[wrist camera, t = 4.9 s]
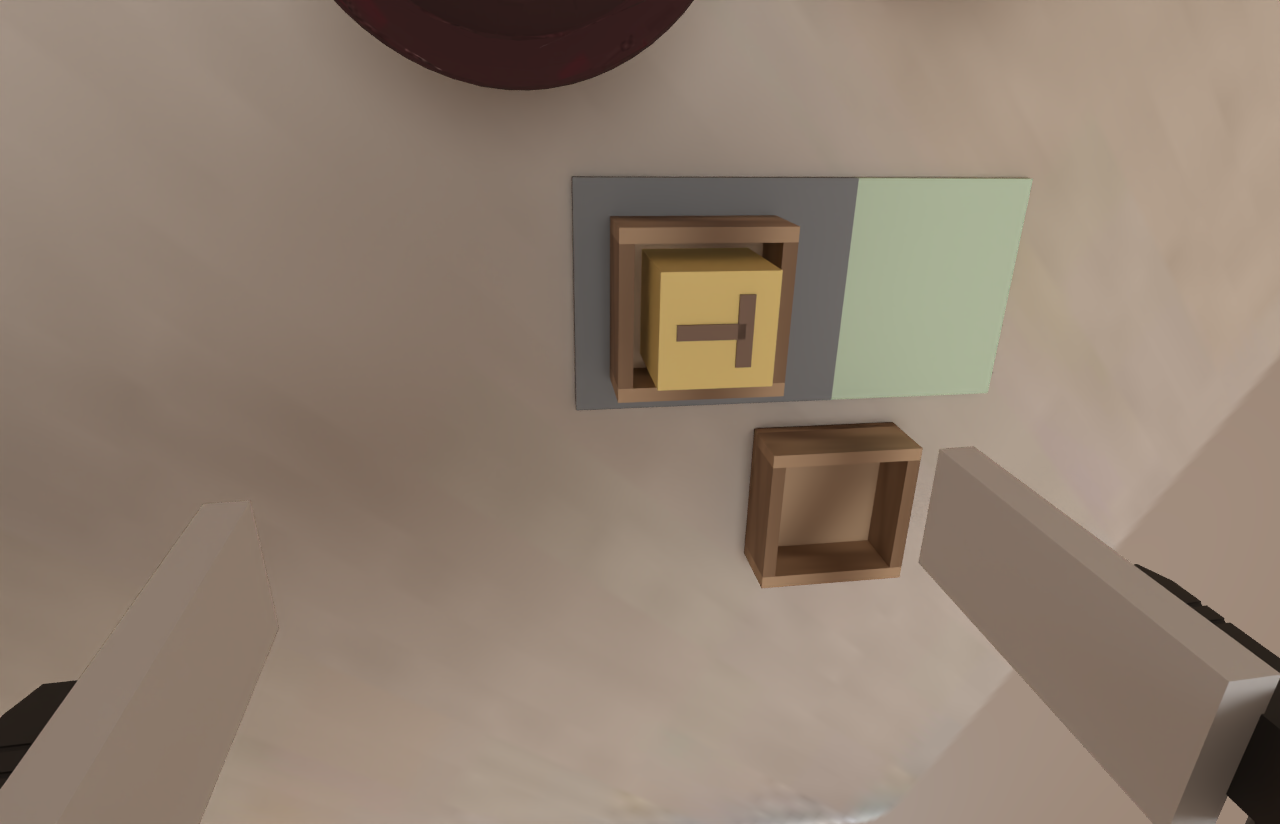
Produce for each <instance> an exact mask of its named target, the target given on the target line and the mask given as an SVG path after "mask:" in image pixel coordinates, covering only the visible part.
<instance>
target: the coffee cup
mask: <svg viewBox="0 0 1280 824" xmlns="http://www.w3.org/2000/svg"><path fill="white" fill-rule="evenodd" d="M334 1H335V2H336V3H337V4H338V5H339V6H340V7H341V8H342V9H343V10H344V11H345V12H346V13H347V14H348V15H349V16H350V17H351V18H352V19H354V20H355V21H356V22H357V23H358V24H359V25H360V26H361V27H362V28H364V29H365V30H366V31H367V32H369V33H370V34H371V35H373V36H374V37H375V38H377V39H378V40H379V41H381V42H382V43H383V44H385V45H386V46H388V47H390V48H391V49H393V50H394V51H396V52H397V53H399V54H401V55H402V56H404V57H405V58H407V59H409V60H411V61H413V62H415V63H417V64H419V65H421V66H423V67H425V68H427V69H429V70H432V71H435V72H437V73H440V74H442V75H445V76H447V77H450V78H452V79H456V80H460V81H463V82H467V83H471V84H474V85H478V86H482V87H489V88H496V89H505V90H539V89H549V88H555V87H560V86H565V85H569V84H574V83H577V82H580V81H584V80H587V79H590V78H593V77H595V76H598V75H600V74H602V73H605V72H607V71H609V70H612V69H614V68H615V67H617V66H619V65H621V64H623V63H624V62H626V61H628V60H630V59H631V58H633V57H635V56H636V55H637V54H639V53H640V52H642V51H643V50H644V49H646V48H647V47H649V46H650V45H651V44H653V43H654V42H655V41H656V40H657V39H658V38H659V37H661V36H662V35H663V34H664V33H665V32H666V31H667V30H668V29H669V28H670V27H671V26H672V25H673V24H674V23H675V22H676V21H677V20H678V19H679V18H680V17H681V16H682V15H683V13H684V12H685V11H686V10H687V8H688V7H689V6H690V4H691V3H692V2H693V1H694V0H334Z"/></svg>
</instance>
